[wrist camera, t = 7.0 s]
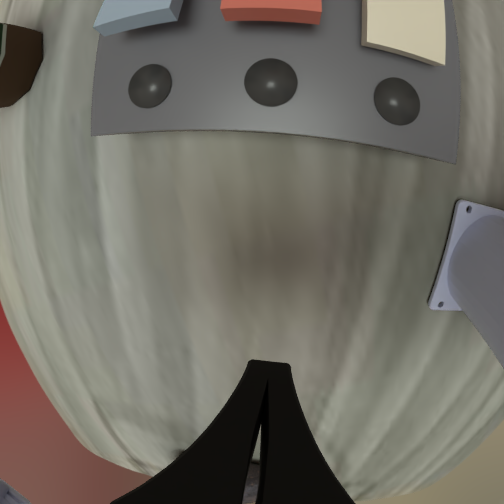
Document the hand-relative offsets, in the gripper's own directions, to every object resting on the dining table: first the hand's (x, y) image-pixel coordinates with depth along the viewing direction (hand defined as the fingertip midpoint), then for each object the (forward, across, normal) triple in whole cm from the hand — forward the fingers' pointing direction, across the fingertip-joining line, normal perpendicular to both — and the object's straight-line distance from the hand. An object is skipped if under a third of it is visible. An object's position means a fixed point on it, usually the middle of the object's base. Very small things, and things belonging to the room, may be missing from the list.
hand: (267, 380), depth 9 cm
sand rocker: (+5, -4, -16) cm, 17 cm away
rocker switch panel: (+9, +1, -14) cm, 17 cm away
